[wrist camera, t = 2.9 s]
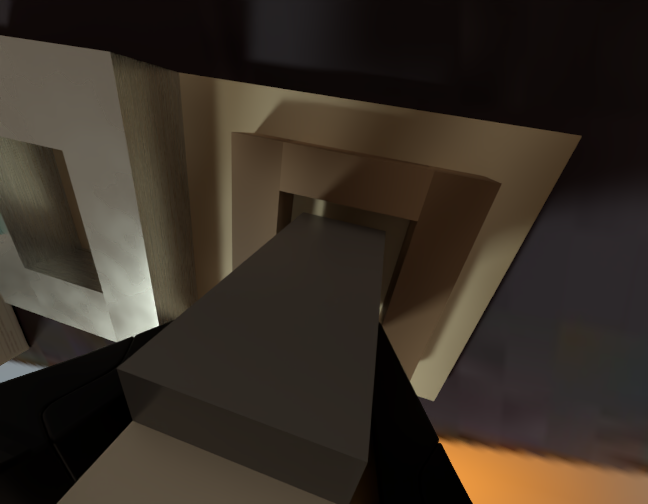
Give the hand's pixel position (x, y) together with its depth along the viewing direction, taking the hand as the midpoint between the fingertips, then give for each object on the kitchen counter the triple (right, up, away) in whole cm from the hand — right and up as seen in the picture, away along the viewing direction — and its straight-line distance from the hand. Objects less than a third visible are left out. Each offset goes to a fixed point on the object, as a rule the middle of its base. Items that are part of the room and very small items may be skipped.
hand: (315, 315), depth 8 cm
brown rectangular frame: (+1, +2, +4) cm, 4 cm away
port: (-10, +5, +6) cm, 13 cm away
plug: (+1, +1, +2) cm, 2 cm away
